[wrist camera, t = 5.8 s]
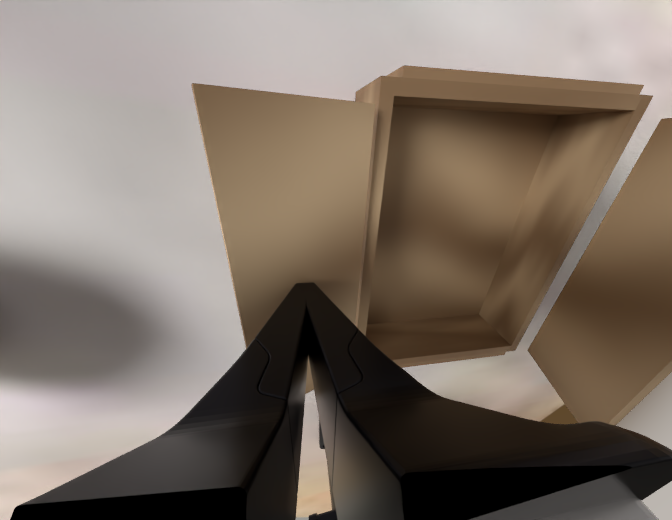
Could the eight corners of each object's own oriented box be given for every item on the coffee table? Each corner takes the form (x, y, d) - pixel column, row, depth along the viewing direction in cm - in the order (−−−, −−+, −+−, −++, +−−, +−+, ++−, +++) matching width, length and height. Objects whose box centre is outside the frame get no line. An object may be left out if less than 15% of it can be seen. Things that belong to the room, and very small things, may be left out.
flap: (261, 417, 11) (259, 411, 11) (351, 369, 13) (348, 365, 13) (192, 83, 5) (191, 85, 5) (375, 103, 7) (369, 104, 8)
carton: (479, 318, 19) (514, 353, 16) (342, 331, 17) (353, 373, 14) (568, 98, 12) (660, 86, 9) (356, 83, 10) (382, 63, 7)
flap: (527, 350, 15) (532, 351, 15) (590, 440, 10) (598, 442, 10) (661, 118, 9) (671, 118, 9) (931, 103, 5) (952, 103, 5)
